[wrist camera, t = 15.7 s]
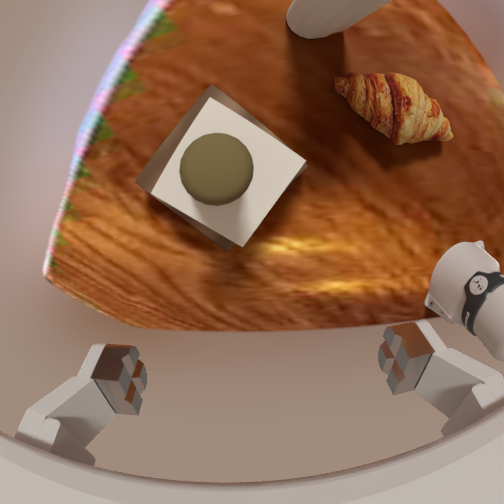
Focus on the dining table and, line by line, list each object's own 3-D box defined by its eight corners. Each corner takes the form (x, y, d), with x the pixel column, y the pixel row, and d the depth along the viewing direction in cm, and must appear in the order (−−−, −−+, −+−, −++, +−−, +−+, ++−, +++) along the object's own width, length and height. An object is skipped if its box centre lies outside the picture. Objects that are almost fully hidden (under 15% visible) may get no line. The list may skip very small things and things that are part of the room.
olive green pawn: (210, 215, 29) (209, 232, 19) (174, 171, 28) (151, 162, 17) (256, 179, 29) (282, 175, 19) (220, 133, 28) (225, 105, 17)
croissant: (433, 118, 37) (463, 98, 29) (442, 171, 36) (478, 154, 28) (322, 72, 34) (345, 36, 26) (322, 128, 33) (351, 93, 25)
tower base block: (299, 159, 38) (308, 165, 33) (228, 237, 42) (228, 252, 38) (214, 88, 33) (211, 83, 28) (145, 174, 37) (134, 182, 33)
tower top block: (298, 155, 33) (306, 160, 29) (241, 233, 37) (242, 247, 33) (212, 99, 29) (210, 97, 26) (159, 185, 33) (150, 193, 30)
